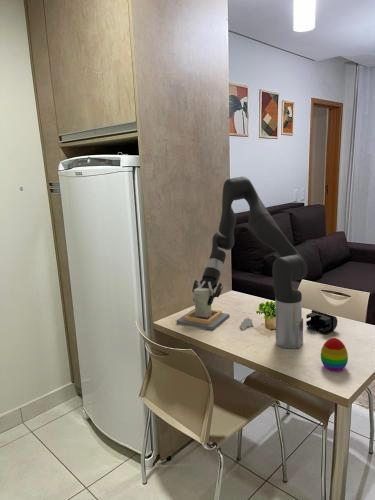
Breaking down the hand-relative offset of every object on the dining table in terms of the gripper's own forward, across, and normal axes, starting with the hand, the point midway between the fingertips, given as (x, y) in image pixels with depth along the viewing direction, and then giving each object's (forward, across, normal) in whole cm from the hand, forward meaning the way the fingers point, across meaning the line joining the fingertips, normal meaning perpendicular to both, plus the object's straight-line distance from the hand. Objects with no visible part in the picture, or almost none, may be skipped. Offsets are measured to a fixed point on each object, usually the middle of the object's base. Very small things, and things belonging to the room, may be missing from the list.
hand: (202, 303), depth 165 cm
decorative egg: (+18, +58, -6) cm, 61 cm away
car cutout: (+8, +18, +5) cm, 20 cm away
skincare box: (+4, 0, +5) cm, 6 cm away
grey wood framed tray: (+5, 0, +6) cm, 8 cm away
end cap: (-2, +48, +14) cm, 50 cm away
